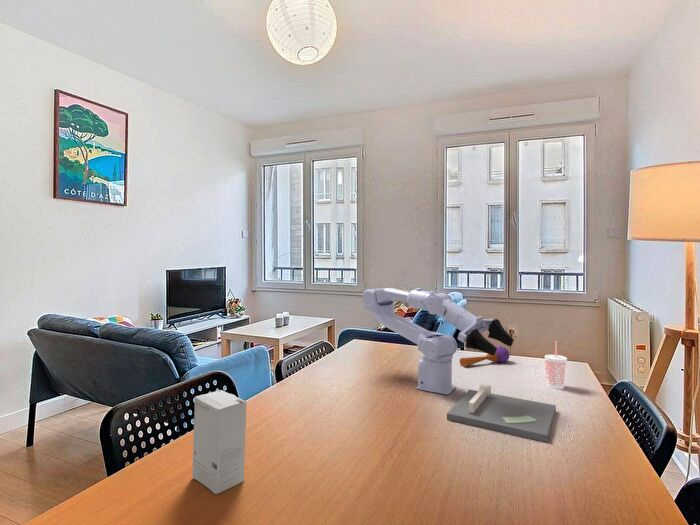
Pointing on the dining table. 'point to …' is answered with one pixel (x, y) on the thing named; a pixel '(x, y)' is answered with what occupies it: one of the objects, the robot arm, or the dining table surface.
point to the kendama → (487, 357)
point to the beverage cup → (555, 370)
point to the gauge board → (506, 415)
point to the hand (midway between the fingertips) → (503, 347)
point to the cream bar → (479, 397)
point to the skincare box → (219, 440)
